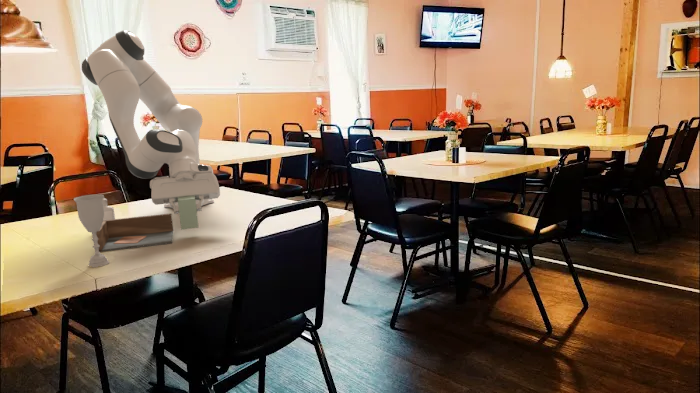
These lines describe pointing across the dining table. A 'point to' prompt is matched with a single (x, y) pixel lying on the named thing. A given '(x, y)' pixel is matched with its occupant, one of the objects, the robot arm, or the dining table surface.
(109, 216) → the eye dropper bottle
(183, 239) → the dining table surface
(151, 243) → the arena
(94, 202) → the chalice
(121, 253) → the dining table surface
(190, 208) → the sage block
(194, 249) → the dining table surface
